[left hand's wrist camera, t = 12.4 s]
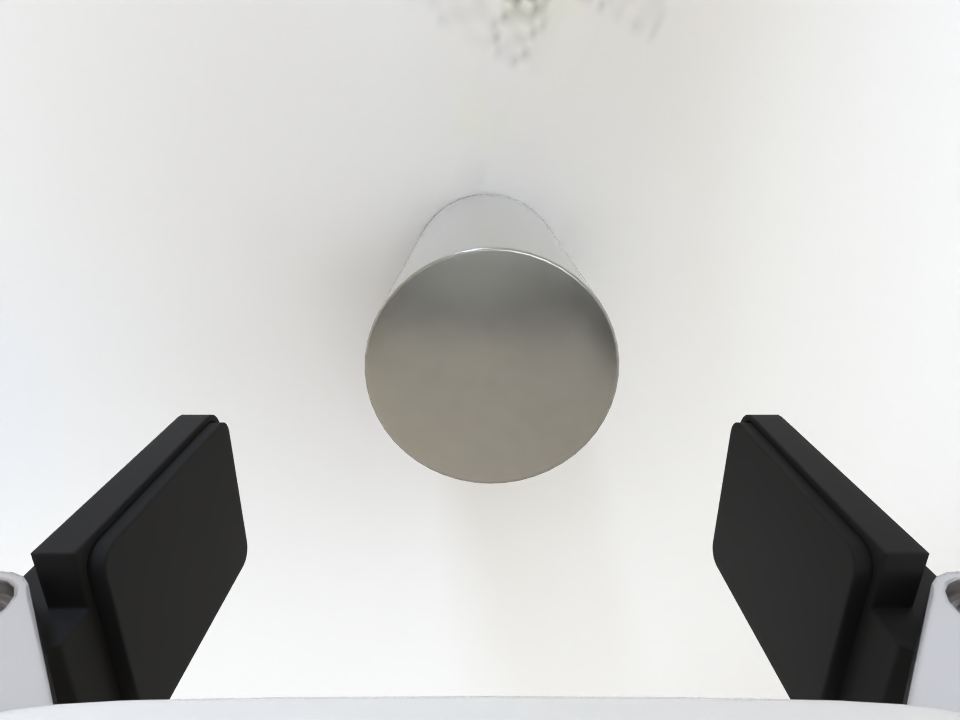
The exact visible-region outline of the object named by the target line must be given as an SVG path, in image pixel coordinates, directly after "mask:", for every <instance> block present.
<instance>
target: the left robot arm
mask: <svg viewBox="0 0 960 720" xmlns="http://www.w3.org/2000/svg"><path fill="white" fill-rule="evenodd" d="M31 556H32V559H33V562H34V567H33V568H32V569H30V570H29V571H28V572H27V573H26V574H25V575H24V576H21V575H18V574H16V573H13V572H0V720H960V572H947V573H944V574H942V575H939V576H936V575H935V574H934V573H933V572H932V571H931V570H929V569H928V568H927V567H926V562H927V559H928V556H929V553H928V552H927V551H926V550H925V549H924V548H923V547H922V546H921V545H919V544H918V543H917V542H916V541H915V540H914V539H913V538H912V537H911V536H910V535H909V534H908V533H907V532H905V531H904V530H903V529H902V528H901V527H900V526H899V525H898V524H897V523H896V522H895V521H894V520H892V519H891V518H890V517H889V516H888V515H887V514H886V513H885V512H884V511H883V510H882V509H881V508H880V507H878V506H877V505H876V504H875V503H874V502H873V501H872V500H871V499H870V498H869V497H868V496H867V495H865V494H864V493H863V492H862V491H861V490H860V489H859V488H858V487H857V486H856V485H855V484H854V483H853V482H851V481H850V480H849V479H848V478H847V477H846V476H845V475H844V474H843V473H842V472H841V471H840V470H838V469H837V468H836V467H835V466H834V465H833V464H832V463H831V462H830V461H829V460H828V459H827V458H826V457H824V456H823V455H822V454H821V453H820V452H819V451H818V450H817V449H816V448H815V447H814V446H813V445H811V444H810V443H809V442H808V441H807V440H806V439H805V438H804V437H803V436H802V435H801V434H800V433H799V432H797V431H796V430H795V429H794V428H793V427H792V426H791V425H790V424H789V423H788V422H787V421H786V420H784V419H783V418H782V417H781V416H779V415H745V416H744V417H743V419H742V421H741V423H735V424H733V426H732V429H731V434H730V440H729V446H728V452H727V459H726V465H725V471H724V477H723V484H722V490H721V496H720V502H719V509H718V515H717V521H716V527H715V533H714V540H713V556H714V560H715V563H716V565H717V567H718V569H719V571H720V573H721V574H722V576H723V578H724V580H725V582H726V583H727V585H728V587H729V589H730V591H731V593H732V594H733V596H734V598H735V600H736V602H737V603H738V605H739V607H740V609H741V611H742V612H743V614H744V616H745V618H746V620H747V621H748V623H749V625H750V627H751V629H752V630H753V632H754V634H755V636H756V638H757V640H758V641H759V643H760V645H761V647H762V649H763V650H764V652H765V654H766V656H767V658H768V659H769V661H770V663H771V665H772V667H773V668H774V670H775V672H776V674H777V676H778V678H779V679H780V681H781V683H782V685H783V687H784V688H785V690H786V692H787V694H788V696H789V697H790V699H791V700H789V699H738V698H687V697H493V696H467V697H273V698H222V699H171V700H169V699H170V697H171V696H172V694H173V692H174V690H175V688H176V687H177V685H178V683H179V681H180V679H181V678H182V676H183V674H184V672H185V670H186V668H187V667H188V665H189V663H190V661H191V659H192V658H193V656H194V654H195V652H196V650H197V649H198V647H199V645H200V643H201V641H202V640H203V638H204V636H205V634H206V632H207V630H208V629H209V627H210V625H211V623H212V621H213V620H214V618H215V616H216V614H217V612H218V611H219V609H220V607H221V605H222V603H223V602H224V600H225V598H226V596H227V594H228V593H229V591H230V589H231V587H232V585H233V583H234V582H235V580H236V578H237V576H238V574H239V573H240V571H241V569H242V567H243V565H244V563H245V560H246V556H247V540H246V533H245V527H244V521H243V515H242V509H241V502H240V496H239V490H238V484H237V477H236V471H235V465H234V459H233V452H232V446H231V440H230V434H229V429H228V426H227V424H225V423H219V421H218V419H217V417H216V416H215V415H181V416H179V417H178V418H177V419H176V420H174V421H173V422H172V423H171V424H170V425H169V426H168V427H167V428H166V429H165V430H164V431H163V432H161V433H160V434H159V435H158V436H157V437H156V438H155V439H154V440H153V441H152V442H151V443H150V444H149V445H147V446H146V447H145V448H144V449H143V450H142V451H141V452H140V453H139V454H138V455H137V456H136V457H134V458H133V459H132V460H131V461H130V462H129V463H128V464H127V465H126V466H125V467H124V468H123V469H122V470H120V471H119V472H118V473H117V474H116V475H115V476H114V477H113V478H112V479H111V480H110V481H109V482H107V483H106V484H105V485H104V486H103V487H102V488H101V489H100V490H99V491H98V492H97V493H96V494H95V495H93V496H92V497H91V498H90V499H89V500H88V501H87V502H86V503H85V504H84V505H83V506H82V507H80V508H79V509H78V510H77V511H76V512H75V513H74V514H73V515H72V516H71V517H70V518H69V519H68V520H66V521H65V522H64V523H63V524H62V525H61V526H60V527H59V528H58V529H57V530H56V531H55V532H53V533H52V534H51V535H50V536H49V537H48V538H47V539H46V540H45V541H44V542H43V543H42V544H41V545H39V546H38V547H37V548H36V549H35V550H34V551H33V552H32V553H31Z"/></svg>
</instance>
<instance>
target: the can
mask: <svg viewBox="0 0 960 720" xmlns="http://www.w3.org/2000/svg"><path fill="white" fill-rule="evenodd" d="M618 376H619V355H618V346H617V341H616V337H615V333H614V330H613V327H612V325H611V322H610V320H609V317H608V315H607V313H606V311H605V310H604V308H603V306H602V305H601V303H600V301H599V300H598V298H597V297H596V296H595V294H594V293H593V291H592V290H591V288H590V287H589V285H588V284H587V282H586V281H585V280H584V278H583V277H582V275H581V274H580V272H579V271H578V269H577V268H576V267H575V265H574V264H573V262H572V261H571V259H570V258H569V256H568V255H567V254H566V252H565V251H564V249H563V248H562V246H561V245H560V243H559V242H558V240H557V239H556V238H555V236H554V235H553V233H552V232H551V230H550V229H549V227H548V226H547V225H546V223H545V222H544V221H543V220H542V218H541V217H540V216H539V215H538V214H537V213H535V212H534V211H533V210H532V209H530V208H529V207H528V206H526V205H525V204H523V203H521V202H519V201H517V200H514V199H512V198H509V197H505V196H500V195H492V194H482V195H474V196H469V197H466V198H463V199H460V200H457V201H455V202H453V203H451V204H450V205H448V206H447V207H445V208H444V209H442V210H441V211H440V212H439V213H438V214H436V215H435V216H434V217H433V219H432V220H431V221H430V222H429V223H428V225H427V226H426V228H425V229H424V231H423V233H422V234H421V236H420V238H419V240H418V242H417V243H416V245H415V247H414V249H413V251H412V253H411V254H410V256H409V258H408V260H407V262H406V263H405V265H404V267H403V269H402V271H401V272H400V274H399V276H398V278H397V280H396V282H395V283H394V285H393V287H392V289H391V291H390V292H389V294H388V296H387V298H386V300H385V301H384V303H383V305H382V307H381V309H380V311H379V312H378V315H377V317H376V319H375V321H374V323H373V325H372V328H371V331H370V335H369V338H368V341H367V348H366V354H365V377H366V385H367V390H368V393H369V397H370V401H371V404H372V406H373V408H374V411H375V413H376V415H377V417H378V419H379V421H380V422H381V424H382V426H383V427H384V429H385V430H386V432H387V433H388V434H389V435H390V437H391V438H392V439H393V440H394V442H395V443H396V444H397V445H398V446H399V447H400V448H401V449H403V450H404V451H405V452H406V453H407V454H408V455H410V456H411V457H412V458H414V459H415V460H416V461H418V462H419V463H421V464H423V465H424V466H426V467H428V468H430V469H431V470H434V471H436V472H438V473H441V474H443V475H446V476H449V477H452V478H455V479H459V480H464V481H470V482H476V483H506V482H512V481H519V480H523V479H527V478H530V477H534V476H537V475H539V474H541V473H544V472H546V471H549V470H551V469H553V468H554V467H556V466H558V465H560V464H562V463H563V462H565V461H566V460H568V459H569V458H570V457H572V456H573V455H574V454H576V453H577V452H578V451H579V450H580V449H581V448H582V447H583V446H584V445H586V444H587V442H588V441H589V440H590V439H591V438H592V436H593V435H594V434H595V433H596V432H597V430H598V429H599V427H600V425H601V424H602V422H603V421H604V419H605V417H606V415H607V413H608V411H609V409H610V407H611V404H612V401H613V398H614V395H615V392H616V387H617V382H618Z"/></svg>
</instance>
